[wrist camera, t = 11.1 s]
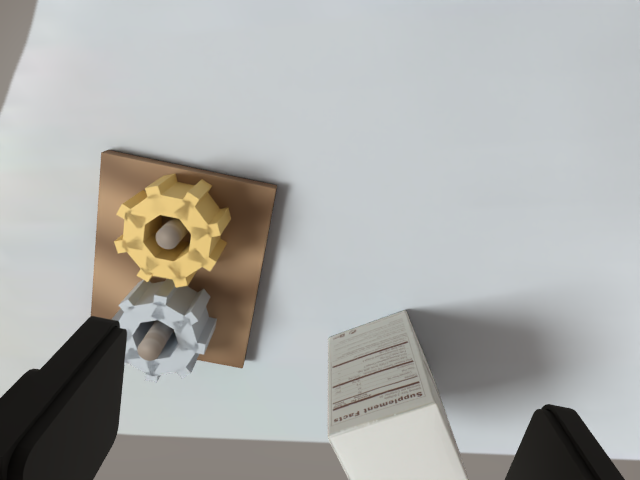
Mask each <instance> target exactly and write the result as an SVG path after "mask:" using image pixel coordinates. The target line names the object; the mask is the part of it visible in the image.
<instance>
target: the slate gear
mask: <svg viewBox="0 0 640 480" xmlns="http://www.w3.org/2000/svg"><path fill="white" fill-rule="evenodd" d="M209 299H210V295H209V294H208V293H207V292H206V290H205V289H202V290H201V291H199V292H196V291H195V290H193V289H191V288H190V287H188V286H183V287H177V288H176V287H175V284H174V281H173V280H172V279H166V280H165V281H163V282H157V283H151V282H150V280H149V281H148V282H146V281H145V280H142V281H140V282H139V283H138V284H137V285H136V286H135V287H134V288H133V289H132V290H131V292H130V293H129V294H128V295H127V296H126V297H125V298H124V300H123V301H122V302H121V303H120V304H119V305H118V306H119V307H120V308H121V309H120V310H119V311H118V312H117V313H116V315H115V316H114V317H113V318H112V319H111V320H116V321H119V323H120V328H122V329H126V330H127V342H126V352H125V363H124V366H125V365H127V364H130V365H131V366H133V367H135V368H137V369H139V370H140V371H142V372H144V373H146V375H145V380H146V381H151V382H156V383H157V381H158V379H159V377H160V375H164V374H171V373H177V374H178V375H179V376H180V377H181V379H182V378H184V377H185V376H187V375H189V374H191V372H192V370H193V367H194V365H195V363H196V361H197V358H198V356H199V354H203V355H204V353H205V351H206V349H207V346H208V344H209V342H210V339H211V337H212V335H213V332H214V330H215V327H216V321H217V319H216V318H211V317H209V315H208V311H207V308H206V305H207V303H208V301H209ZM155 320H159V321H160V322H162V323H164V324H166V325H167V326H169V327H171V328H173V329H174V332H173V333H172V334H171V336H170V338H169V340H168V341H167V343H166V345H165V346H164V348H163V350H162V352H161V353H160V355H159V357H158V358H157V359H155V360H152V361H147V360H144V359H143V358H141V357H140V356H139V354H138V351H137V349H138V346H139V344H140V343H141V341H142V340H143V338H144V337H145V336H146V334H147V333H148V331H149V330H150V328H151V327H152V325H153V324H154V321H155Z"/></svg>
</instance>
